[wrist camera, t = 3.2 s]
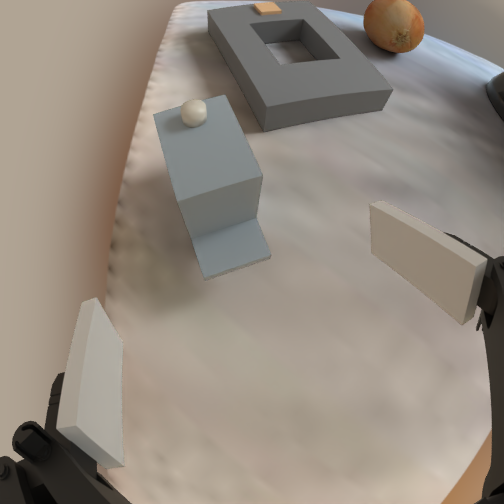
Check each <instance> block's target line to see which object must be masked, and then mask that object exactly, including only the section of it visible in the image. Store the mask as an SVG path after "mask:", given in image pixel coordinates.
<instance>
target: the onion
mask: <svg viewBox="0 0 504 504" xmlns="http://www.w3.org/2000/svg"><path fill="white" fill-rule="evenodd" d="M363 24H364V29H365V31H366V33H367V35H368V37H369V38H370V40H371V41H372V42H373V43H374V44H375V45H377V46H378V47H380V48H382V49H385V50H388V51H392V52H395V53H405V52H409V51H411V50H413V49H414V48H416V47H417V46H418V45H419V43H420V42H421V41H422V39H423V36H424V21H423V18H422V16H421V14H420V12H419V11H418V9H417V8H416V7H415V6H414V5H413V4H411V3H410V2H408V1H406V0H374V1H373V2H371V3H370V4H369V6H368V7H367V9H366V11H365V14H364V21H363Z"/></svg>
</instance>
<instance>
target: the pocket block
mask: <svg viewBox="0 0 504 504" xmlns="http://www.w3.org/2000/svg"><path fill="white" fill-rule="evenodd" d="M207 14H208V32H209V33H210V35H211V37H212V39H213V40H214V42H215V44H216V45H217V47H218V49H219V51H220V52H221V54H222V56H223V58H224V59H225V61H226V63H227V65H228V66H229V68H230V70H231V72H232V74H233V75H234V77H235V79H236V81H237V83H238V85H239V86H240V88H241V90H242V92H243V94H244V96H245V97H246V99H247V101H248V103H249V105H250V107H251V109H252V111H253V113H254V114H255V116H256V118H257V120H258V122H259V124H260V126H261V128H262V130H263V132H267V131H271V130H275V129H280V128H284V127H289V126H293V125H298V124H303V123H308V122H313V121H318V120H324V119H329V118H335V117H341V116H347V115H353V114H359V113H366V112H373V111H380V110H382V109H383V108H384V106H385V104H386V102H387V100H388V98H389V97H390V95H391V93H392V91H393V88H392V87H391V86H390V84H389V83H388V82H387V81H386V79H385V78H384V77H383V76H382V75H381V73H380V72H379V71H378V70H377V69H376V68H375V66H374V65H373V64H372V63H371V62H370V61H369V60H368V59H367V57H366V56H365V55H364V54H363V53H362V52H361V51H360V50H359V49H358V48H357V47H356V46H355V44H354V43H353V42H352V41H351V40H350V39H349V38H348V37H347V36H346V35H345V34H344V33H343V32H342V31H341V30H340V29H339V28H338V27H337V26H336V25H335V24H334V23H333V22H332V21H330V20H329V19H328V18H327V17H326V16H325V15H324V14H323V13H322V12H321V11H320V10H319V9H317V8H316V7H315V6H314V5H313V4H312V3H311V2H309V1H290V2H268V3H256V4H249V5H241V6H233V7H226V8H219V9H213V10H207ZM293 40H300V41H301V42H302V43H303V44H304V46H305V47H306V48H307V49H308V50H309V51H310V53H311V54H312V55H313V56H314V57H315V59H316V60H317V61H308V62H299V63H291V64H284V65H280V64H279V63H278V61H277V60H276V58H275V57H274V56H273V54H272V53H271V52H270V50H269V49H268V48H267V46H266V45H265V44H266V43H274V42H283V41H293Z"/></svg>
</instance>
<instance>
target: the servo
mask: <svg viewBox="0 0 504 504" xmlns="http://www.w3.org/2000/svg"><path fill="white" fill-rule="evenodd" d="M153 116H154V120H155V124H156V128H157V132H158V135H159V139H160V143H161V147H162V150H163V154H164V158H165V161H166V165H167V168H168V172H169V176H170V179H171V183H172V186H173V189H174V193H175V196H176V200H177V203H178V206H179V208H180V211H181V214H182V216H183V219H184V222H185V224H186V227H187V230H188V232H189V235H190V238H191V240H192V244H193V247H194V250H195V253H196V256H197V259H198V262H199V265H200V268H201V271H202V274H203V277H204V280H205V281H206V280H209V279H212V278H215V277H218V276H221V275H224V274H227V273H229V272H232V271H235V270H238V269H241V268H244V267H247V266H250V265H253V264H256V263H259V262H261V261H264V260H267V259H270V257H271V253H270V250H269V248H268V245H267V243H266V240H265V238H264V235H263V233H262V230H261V228H260V226H259V223H258V221H257V218H256V217H257V210H258V204H259V197H260V191H261V185H262V178H263V174H262V172H261V170H260V168H259V165H258V163H257V161H256V159H255V157H254V154H253V152H252V150H251V148H250V146H249V144H248V142H247V139H246V137H245V135H244V133H243V131H242V129H241V127H240V124H239V122H238V120H237V118H236V116H235V114H234V112H233V110H232V108H231V106H230V104H229V102H228V99H227V97H226V95H221V96H217V97H213V98H209V99H205V100H197V99H193V100H189V101H187V102H185V103H184V104H183V105H182V106H179V107H176V108H172V109H169V110H166V111H163V112H159V113H156V114H153Z"/></svg>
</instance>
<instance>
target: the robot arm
mask: <svg viewBox="0 0 504 504" xmlns="http://www.w3.org/2000/svg"><path fill="white" fill-rule="evenodd" d="M487 93H488V96H489V98H490V100H491V102H492V104H493V106H494V107H495V109H496V110H497V112H498V113H499V115H500V116H501V117H502V119H503V120H504V72H502V73H501V74H499V75H497V76H495V77H493V78H492V79H491V81H490V82H489V83H488V85H487ZM369 205H370V224H371V253H372V254H373V255H375V256H376V257H377V258H379V259H380V260H381V261H383V262H384V263H385V264H387V265H388V266H389V267H391V268H392V269H393V270H394V271H396V272H397V273H398V274H400V275H401V276H402V277H403V278H405V279H406V280H407V281H409V282H410V283H411V284H412V285H414V286H415V287H416V288H417V289H419V290H420V291H421V292H422V293H424V294H425V295H426V296H427V297H428V298H430V299H431V300H432V301H433V302H435V303H436V304H437V305H438V306H439V307H441V308H442V309H443V310H444V311H445V312H447V313H448V314H449V315H450V316H451V317H453V318H454V319H455V320H456V321H457V322H458V323H460V324H461V325H463V324H465V323H466V322H468V321H469V320H470V319H472V318H473V317H474V313H475V310H476V306H477V305H478V306H479V307H480V308H481V309H482V310H481V314H480V317H479V320H478V323H477V326H476V331H478V330H479V327H480V325H481V324H482V331H483V334H484V340H485V346H486V354H487V361H488V370H489V380H490V392H491V411H492V456H491V467H490V470H489V472H488V474H487V476H486V478H485V482H484V486H483V491H482V499H481V500H479V501H478V502H476V503H474V504H504V256H501V257H498V258H496V259H493V258H492V257H490V256H488V255H487V254H485V253H484V252H482V251H480V250H479V249H477V248H475V247H474V246H470V244H469V243H467V242H464V241H463V240H462V239H460V238H458V237H456V236H455V235H451V234H448V233H445V232H441V231H439V230H438V229H436V228H434V227H432V226H430V225H429V224H427V223H425V222H423V221H421V220H419V219H418V218H416V217H414V216H412V215H410V214H408V213H406V212H404V211H402V210H400V209H398V208H396V207H394V206H392V205H390V204H388V203H386V202H384V201H382V200H380V201H377V202H374V203H371V204H369ZM122 361H123V341H122V340H121V338H120V336H119V335H118V333H117V332H116V330H115V328H114V327H113V325H112V323H111V322H110V320H109V318H108V316H107V315H106V313H105V311H104V309H103V308H102V306H101V304H100V302H99V301H98V299H97V297H95V298H92V299H89V300H87V301H84V302H82V304H81V308H80V311H79V315H78V319H77V322H76V326H75V330H74V334H73V338H72V343H71V347H70V352H69V356H68V361H67V365H66V370H65V372H64V373H60V374H58V376H57V377H56V379H55V381H54V383H53V384H52V389H51V394H50V396H51V397H50V399H49V407H48V410H47V416H46V423H45V429H43V428H42V427H41V426H40V425H38V424H37V423H36V422H34V421H28V422H25V423H23V424H22V425H20V426H19V427H18V429H17V430H16V432H15V434H14V436H13V441H12V446H13V449H14V451H15V452H17V453H18V454H19V455H20V456H22V457H23V458H24V459H23V460H21V461H19V462H17V463H16V462H15V461H14V460H12V459H11V458H10V457H7V456H3V457H0V504H131V503H130V502H129V501H128V500H127V499H126V498H125V497H124V496H123V495H122V494H120V493H119V492H118V491H117V490H116V489H115V488H114V487H113V486H112V485H111V484H110V483H109V482H108V481H107V480H106V479H105V478H104V477H103V476H102V475H101V474H99V473H98V472H97V463H98V464H100V465H101V466H103V467H104V468H105V469H111V468H118V467H124V466H125V464H124V449H123V427H122Z"/></svg>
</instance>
